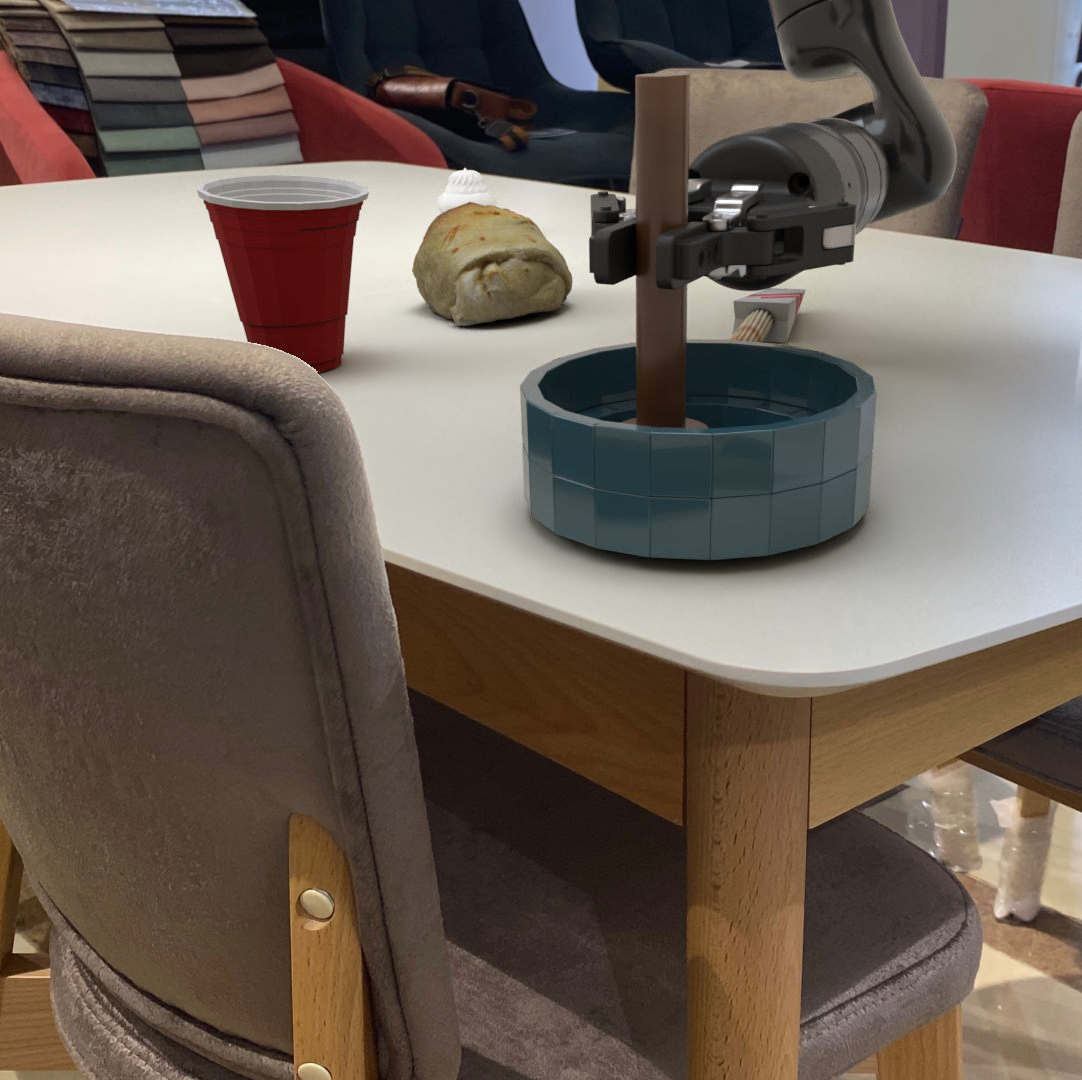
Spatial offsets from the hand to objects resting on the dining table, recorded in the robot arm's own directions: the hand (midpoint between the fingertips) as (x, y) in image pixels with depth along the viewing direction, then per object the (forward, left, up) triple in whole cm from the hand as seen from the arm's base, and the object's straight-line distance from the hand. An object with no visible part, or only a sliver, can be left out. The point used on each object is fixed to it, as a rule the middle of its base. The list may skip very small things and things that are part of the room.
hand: (633, 261), depth 53 cm
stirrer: (0, -3, -9) cm, 9 cm away
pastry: (+30, -38, -12) cm, 50 cm away
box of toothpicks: (+7, -35, -12) cm, 38 cm away
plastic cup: (+33, -18, -12) cm, 40 cm away
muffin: (+50, -67, -12) cm, 85 cm away
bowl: (-1, -4, -12) cm, 13 cm away
